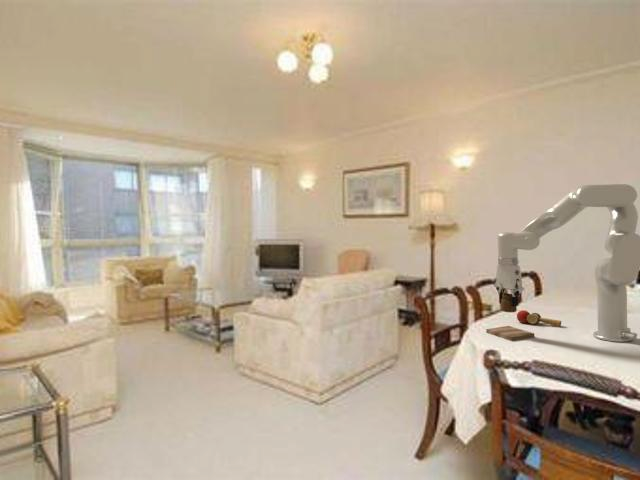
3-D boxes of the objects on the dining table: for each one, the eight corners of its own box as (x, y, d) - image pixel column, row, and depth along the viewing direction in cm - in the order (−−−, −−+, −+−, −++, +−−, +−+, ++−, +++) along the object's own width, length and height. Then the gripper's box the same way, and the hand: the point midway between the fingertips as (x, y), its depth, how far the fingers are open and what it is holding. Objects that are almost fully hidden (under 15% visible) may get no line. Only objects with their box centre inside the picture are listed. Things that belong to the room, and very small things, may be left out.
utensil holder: (517, 313, 166) (516, 284, 165) (500, 312, 168) (500, 283, 168) (516, 310, 171) (515, 282, 171) (500, 309, 174) (499, 281, 173)
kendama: (561, 327, 183) (518, 317, 194) (563, 315, 181) (519, 305, 192) (558, 334, 177) (514, 323, 188) (559, 321, 175) (515, 311, 187)
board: (534, 337, 165) (534, 333, 165) (511, 340, 161) (511, 337, 161) (508, 329, 179) (508, 325, 178) (486, 332, 175) (486, 329, 175)
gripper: (531, 263, 162) (532, 307, 163) (499, 260, 178) (500, 300, 179) (516, 264, 160) (517, 309, 160) (486, 261, 176) (486, 302, 177)
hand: (508, 304), depth 170 cm, fingers closed on utensil holder, 5 cm apart
